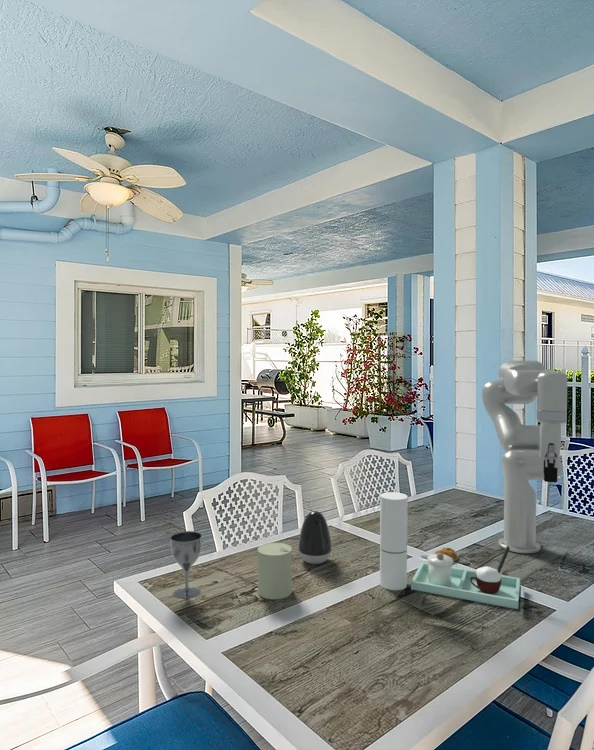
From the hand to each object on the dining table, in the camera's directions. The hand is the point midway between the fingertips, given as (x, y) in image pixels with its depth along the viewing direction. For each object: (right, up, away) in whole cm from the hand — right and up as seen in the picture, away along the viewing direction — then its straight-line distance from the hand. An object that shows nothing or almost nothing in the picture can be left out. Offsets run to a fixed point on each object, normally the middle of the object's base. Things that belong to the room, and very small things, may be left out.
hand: (550, 477), depth 146 cm
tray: (-26, -29, -7) cm, 39 cm away
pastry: (-26, -28, +12) cm, 40 cm away
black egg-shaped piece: (-65, -28, +13) cm, 72 cm away
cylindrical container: (-45, -29, -5) cm, 53 cm away
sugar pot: (-32, -28, -4) cm, 42 cm away
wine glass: (-99, -29, -7) cm, 104 cm away
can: (-76, -29, -7) cm, 82 cm away
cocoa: (-20, -28, -9) cm, 36 cm away
